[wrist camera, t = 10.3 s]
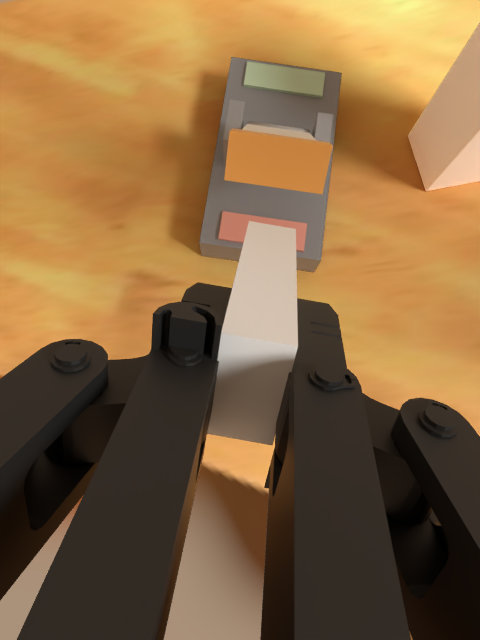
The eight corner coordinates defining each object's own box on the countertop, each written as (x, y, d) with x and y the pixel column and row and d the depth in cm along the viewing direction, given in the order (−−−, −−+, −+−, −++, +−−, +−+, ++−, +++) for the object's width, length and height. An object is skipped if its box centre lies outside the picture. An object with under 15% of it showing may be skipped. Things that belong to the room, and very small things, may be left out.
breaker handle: (306, 160, 38) (322, 194, 25) (241, 151, 38) (224, 180, 25) (312, 127, 37) (332, 145, 24) (245, 117, 37) (229, 130, 24)
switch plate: (313, 272, 40) (330, 243, 33) (201, 255, 40) (196, 224, 33) (333, 96, 43) (352, 40, 37) (231, 81, 43) (231, 22, 37)
